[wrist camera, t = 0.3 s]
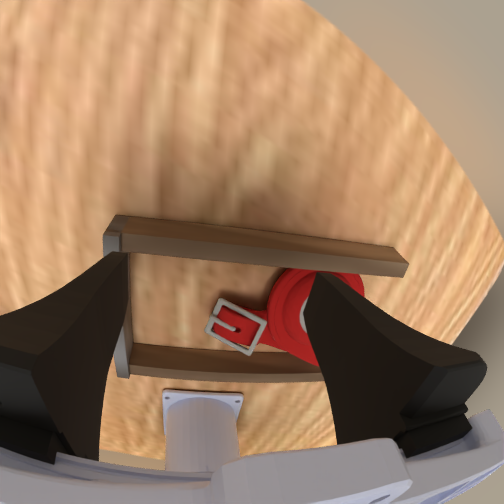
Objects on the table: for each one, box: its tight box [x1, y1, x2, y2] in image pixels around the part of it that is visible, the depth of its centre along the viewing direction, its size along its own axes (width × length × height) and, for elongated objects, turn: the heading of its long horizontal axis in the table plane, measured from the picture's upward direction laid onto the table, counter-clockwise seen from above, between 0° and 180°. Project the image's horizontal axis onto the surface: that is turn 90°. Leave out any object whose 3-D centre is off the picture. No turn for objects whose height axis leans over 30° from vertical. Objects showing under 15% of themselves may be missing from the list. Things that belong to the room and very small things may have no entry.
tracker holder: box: [204, 268, 364, 366], centre depth 24 cm, size 12×4×10 cm
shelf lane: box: [103, 215, 409, 383], centre depth 23 cm, size 13×20×3 cm, turn 80°
